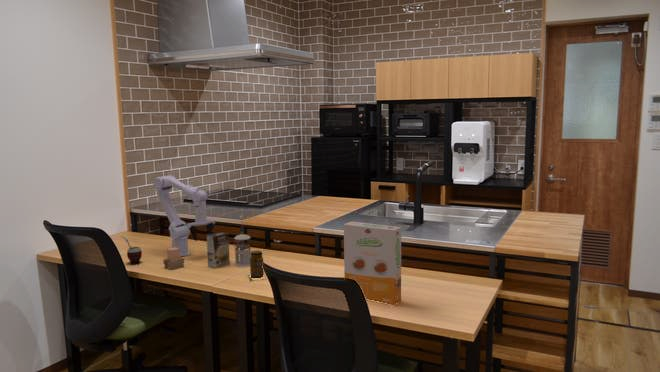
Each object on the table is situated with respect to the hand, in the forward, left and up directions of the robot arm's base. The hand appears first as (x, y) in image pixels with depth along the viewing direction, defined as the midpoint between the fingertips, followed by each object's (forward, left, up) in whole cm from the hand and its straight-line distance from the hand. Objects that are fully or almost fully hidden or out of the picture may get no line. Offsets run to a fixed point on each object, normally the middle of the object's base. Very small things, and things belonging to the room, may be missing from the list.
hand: (202, 239), depth 270 cm
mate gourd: (-15, -31, -10) cm, 36 cm away
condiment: (+48, +4, -10) cm, 49 cm away
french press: (+24, +10, -10) cm, 28 cm away
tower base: (+6, -18, -11) cm, 22 cm away
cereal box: (+103, +25, -10) cm, 106 cm away
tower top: (+6, -18, -8) cm, 21 cm away
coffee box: (+18, 0, -10) cm, 21 cm away
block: (+6, -18, -6) cm, 20 cm away
